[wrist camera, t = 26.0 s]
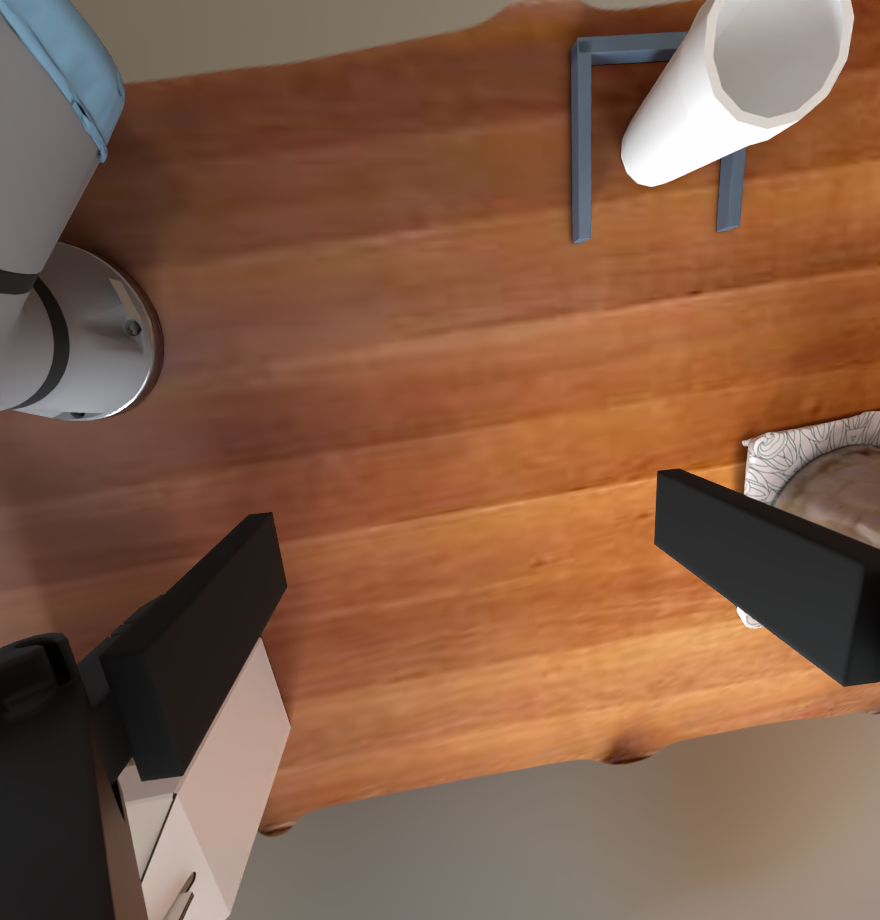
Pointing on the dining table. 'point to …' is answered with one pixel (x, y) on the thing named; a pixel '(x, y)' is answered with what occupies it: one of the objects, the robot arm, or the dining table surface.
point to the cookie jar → (820, 476)
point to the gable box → (209, 803)
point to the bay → (581, 60)
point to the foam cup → (736, 83)
